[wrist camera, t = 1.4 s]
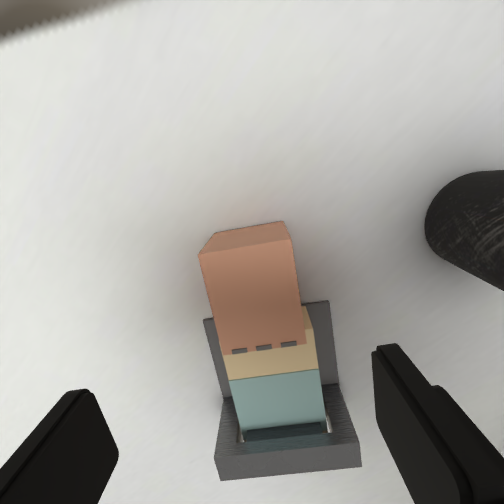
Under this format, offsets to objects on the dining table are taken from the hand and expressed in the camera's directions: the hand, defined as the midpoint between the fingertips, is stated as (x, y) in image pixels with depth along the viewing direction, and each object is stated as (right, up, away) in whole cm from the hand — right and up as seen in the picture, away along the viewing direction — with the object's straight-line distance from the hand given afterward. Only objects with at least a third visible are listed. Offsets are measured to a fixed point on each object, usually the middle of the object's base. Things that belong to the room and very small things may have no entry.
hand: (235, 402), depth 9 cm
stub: (+1, +4, +14) cm, 14 cm away
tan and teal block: (+3, -5, +16) cm, 17 cm away
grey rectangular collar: (+3, -9, +17) cm, 20 cm away
